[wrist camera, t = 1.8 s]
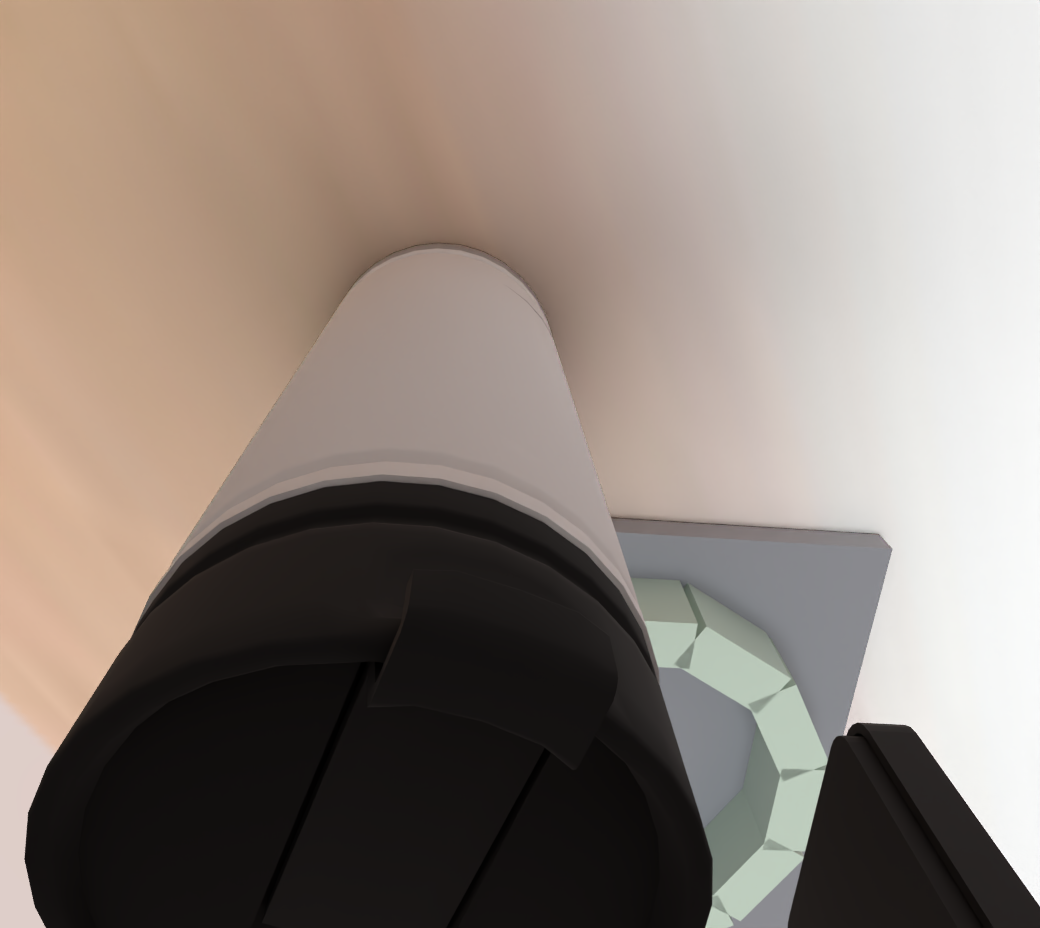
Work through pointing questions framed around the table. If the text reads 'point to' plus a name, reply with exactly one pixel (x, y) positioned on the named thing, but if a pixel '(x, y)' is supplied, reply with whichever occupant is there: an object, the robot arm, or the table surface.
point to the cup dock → (797, 614)
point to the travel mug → (388, 661)
